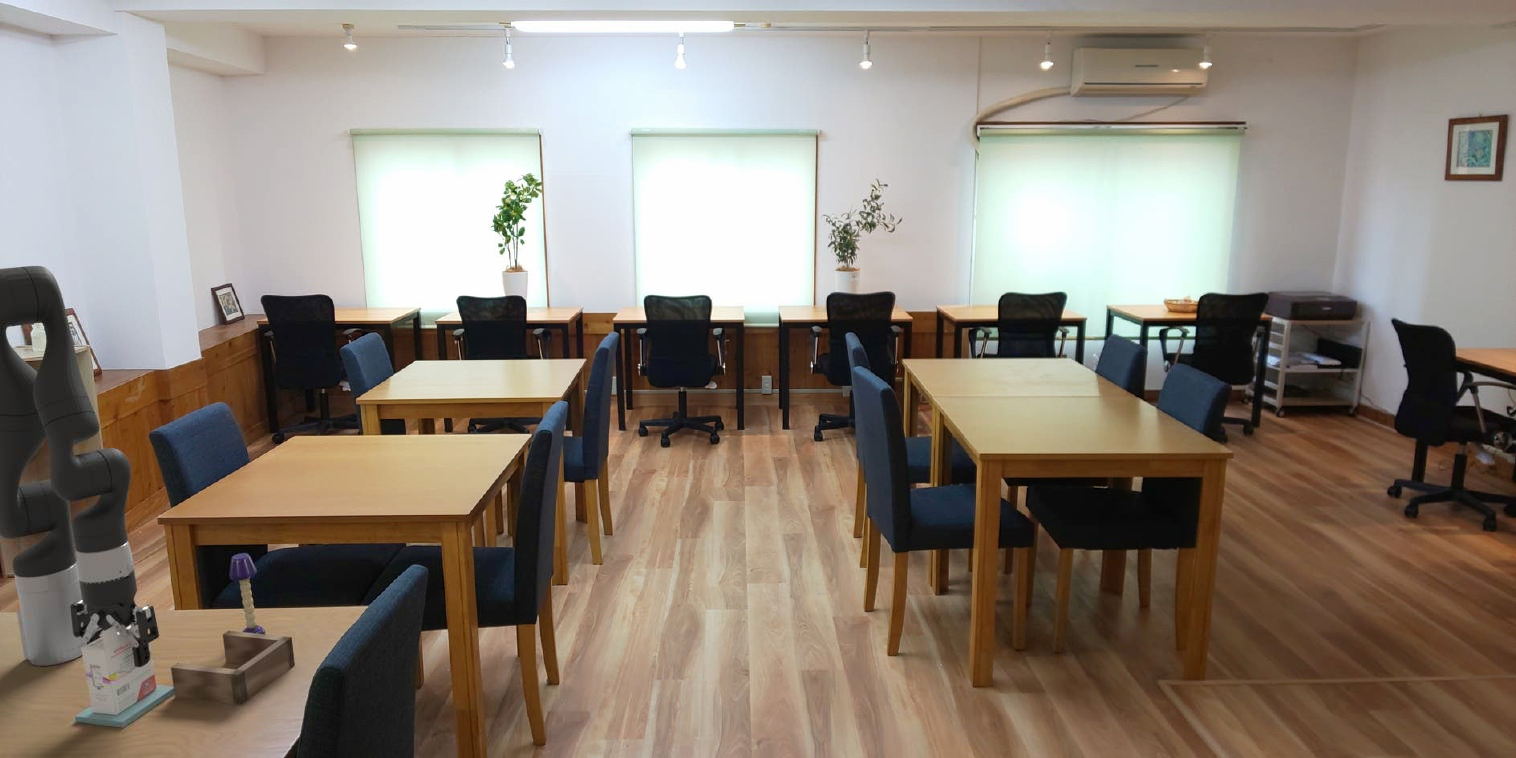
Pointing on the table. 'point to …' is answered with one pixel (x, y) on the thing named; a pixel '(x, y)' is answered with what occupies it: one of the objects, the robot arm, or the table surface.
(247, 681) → the walnut cubby
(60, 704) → the table surface
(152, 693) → the teal coaster
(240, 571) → the toy lamp
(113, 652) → the ink cartridge box
